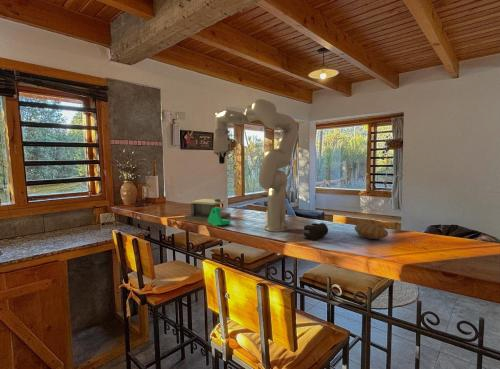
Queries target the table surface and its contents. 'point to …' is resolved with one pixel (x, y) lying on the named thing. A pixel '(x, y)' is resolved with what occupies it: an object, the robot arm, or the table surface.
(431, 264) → the table surface
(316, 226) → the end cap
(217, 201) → the level plate
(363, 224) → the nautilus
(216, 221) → the camera mount
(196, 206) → the leveling stand
